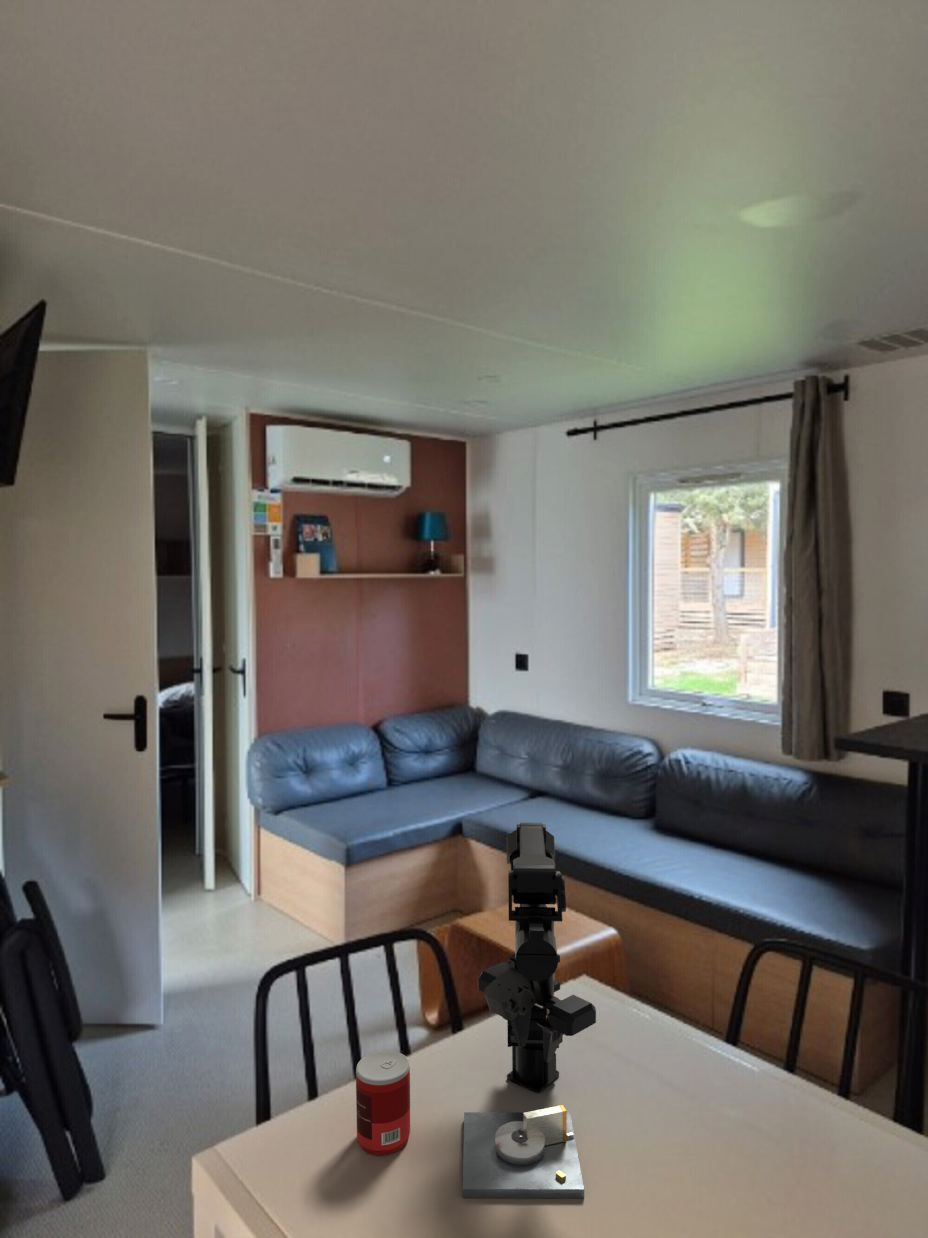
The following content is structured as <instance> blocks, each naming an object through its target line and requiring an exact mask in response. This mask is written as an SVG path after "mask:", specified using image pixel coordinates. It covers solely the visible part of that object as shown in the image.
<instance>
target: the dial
mask: <svg viewBox="0 0 928 1238" xmlns="http://www.w3.org/2000/svg"><path fill="white" fill-rule="evenodd" d="M565 1141H567V1109H566V1108H565V1106H564V1105H563V1104H559V1105H556V1106H555V1105H554V1106H552V1107H545V1108H541V1109H535V1110H531V1111H527V1112H526V1111H525V1113H523V1121H514V1122H509V1123H506V1124H504V1125H502V1126H501V1127H500V1128H499V1129H498V1130H497V1131H496V1134H495V1149H496V1152H497V1154H498V1155H499V1156H500V1157H501V1158H502V1159H503V1160H505V1161H507V1162H509V1163H512V1164H518V1165H525V1164H530V1163H533V1162H536V1161H537V1160H539V1159H540V1158H541V1157H542V1156H543V1154H544V1152H545V1146H546V1145H550V1144H555V1143H559V1142H565Z"/></svg>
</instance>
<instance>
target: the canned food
mask: <svg viewBox="0 0 928 1238" xmlns="http://www.w3.org/2000/svg"><path fill="white" fill-rule="evenodd" d="M410 1066H411V1065H410V1060H409V1059H408V1057H407V1056H406V1055H405V1054H403V1053H400V1052H398V1051H395V1050H381V1051H375V1052H371V1053H370V1054H367V1055H365V1056H363V1058H361V1059H360V1060H359V1061H358V1063H357V1065H356V1069H355V1096H356V1097H355V1098H356V1099H355V1100H356V1101H355V1102H356V1104H355V1105H356V1106H355V1107H356V1140H357V1142H358V1144H359V1147H360V1148H361V1150H362V1151H364V1152H366V1153H367V1154H370V1155H373V1156H385V1155H387V1156H388V1155H391V1154H393V1153H396V1152H398V1151H399V1150H401V1149H402V1148H404V1146H406V1145H407V1143H408V1140H409V1137H410V1134H411V1072H410V1070H411V1067H410Z"/></svg>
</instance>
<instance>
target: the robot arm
mask: <svg viewBox="0 0 928 1238" xmlns="http://www.w3.org/2000/svg"><path fill="white" fill-rule="evenodd" d="M555 860H556V847H555V836H554V835H553V834H552V833H550V832H549V831H547V827H546V824H544V823H542V822H520V823H516V829H515V830H513V831H511V833H509V834H508V835H506V865H508V866H509V865H510V870H508V876H507V877H508V878H507V880H508V922H511V921H512V922H514V946H515V948H514V949H515V950H514V951H515V952H514V954H512V955H509V956H508V957H509V958H508V960H507V963H506V962H504V961H502V962H501V963H498V964H495V965H493V966H490V967H487V968H486V969H483V970H482V971H481V973H480V975H479V977H478V991H480V992H482V993H484V996H485V999H486V1002H487V1006H488V1008H489V1011H490V1012H491V1013H492V1014H496V1015H498V1016H499V1017H501V1018H502V1019H503V1020H505V1021H507V1024H506V1025H507V1048H511V1054H512V1056H511V1062H512V1063H511V1064H512V1065H511V1067H512V1068H511V1069H512V1070H511V1071H510V1072H509V1073H508V1074H506V1079H507V1080H508V1081H510V1082H513V1083H515V1084H518V1085H519V1086H522V1087H524V1088H527V1089H529V1090H531V1091H534V1092H535V1093H541V1092H542V1091H544V1089H546V1087H548V1086H549V1085H550V1084H551V1083H552V1082H553V1081H555V1080H556V1079H557V1078H558V1077H559V1076H560V1071H559V1070H557V1054H556V1051H557V1049H559V1048H560V1044H562V1043H563V1036H566V1037H573V1036H575V1035H577V1034H578V1033H580V1032H582V1031H584V1030H585V1029H588V1028H589V1027H591V1026H593V1025H595V1024H596V1023H597V1011H596V1010H597V1008H596V1006H595V1005H594V1004H593V1003H591V1002H590V1001H589V1000H586V999H584V998H582V997H580V996H577V995H575V994H571V995H569V996H567V997H565V998H559V997H557V996H555V992H558V991H560V990H561V982H559V981H558V980H555V973H556V971H557V968H558V964H559V963H561V955H560V954H559V953H558V948H557V947H558V946H557V942H556V941H557V940H556V936H555V935H556V934H555V922H563V913H566V912H567V900H566V885H565V882H566V881H565V879H564V878H563V875H562V873H561V871H559V870H557V869H556V863H555ZM513 904H514V905H519V906H514V910H513ZM547 905H556V906H557V910H556V907H554V906H551V907H549V906H547Z"/></svg>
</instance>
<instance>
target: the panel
mask: <svg viewBox="0 0 928 1238" xmlns="http://www.w3.org/2000/svg"><path fill="white" fill-rule="evenodd" d="M525 1112H526V1111H525ZM525 1112H523V1111H522V1112H520V1111H518V1112H517V1111H516V1112H513V1111H512V1112H510V1111H509V1112H507V1111H506V1112H502V1111H501V1112H496V1111H495V1112H494V1111H493V1112H490V1111H489V1112H488V1111H487V1112H485V1111H484V1112H477V1111H476V1112H473V1111H472V1112H469V1111H468V1112H464V1111H463V1150H462V1151H463V1153H462V1154H463V1155H462V1157H463V1160H462V1198H463V1199H585V1185H584V1181H583V1175H582V1171H581V1170H582V1169H581V1166H580V1165H581V1164H580V1160H579V1155H578V1148H577V1144H576V1139H575V1138H576V1137H575V1131H574V1126H573V1122H572V1116H571V1112H567V1141H565V1142H559V1143H555V1144H550V1145H546V1146H545V1152H544V1154H543V1156H542V1157H541V1158H540V1159H539V1160H537V1161H536V1162H533V1163H530V1164H525V1165H518V1164H512V1163H509V1162H507V1161H505V1160H503V1159H502V1158H501V1157H500V1156H499V1155H498V1154H497V1152H496V1149H495V1134H496V1131H497V1130H498V1129H499V1128H500V1127H501V1126H502V1125H504V1124H506V1123H509V1122H514V1121H523V1113H525Z"/></svg>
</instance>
